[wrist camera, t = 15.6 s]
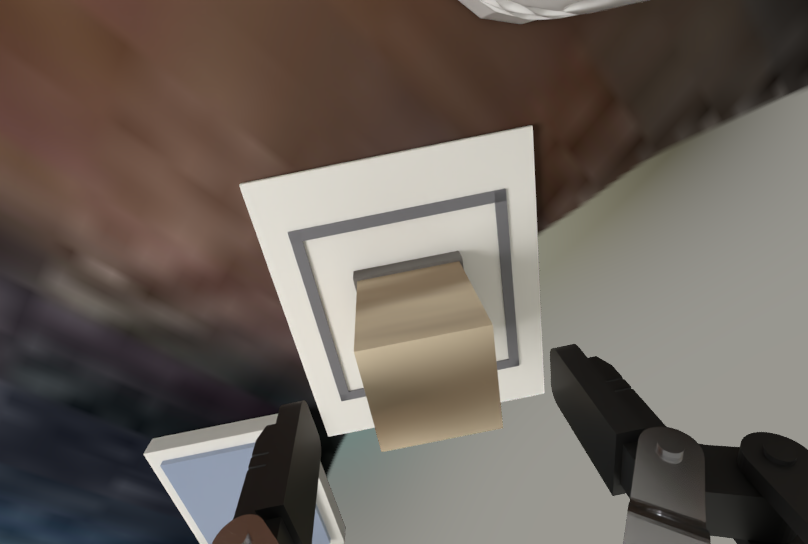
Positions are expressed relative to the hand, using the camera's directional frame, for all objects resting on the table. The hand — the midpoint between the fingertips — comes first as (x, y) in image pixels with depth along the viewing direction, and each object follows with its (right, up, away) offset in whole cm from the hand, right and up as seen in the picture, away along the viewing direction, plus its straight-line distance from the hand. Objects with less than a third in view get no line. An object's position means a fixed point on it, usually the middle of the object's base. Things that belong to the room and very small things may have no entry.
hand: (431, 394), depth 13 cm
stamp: (0, +2, +6) cm, 7 cm away
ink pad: (-9, -8, +11) cm, 17 cm away
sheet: (0, +3, +6) cm, 7 cm away
